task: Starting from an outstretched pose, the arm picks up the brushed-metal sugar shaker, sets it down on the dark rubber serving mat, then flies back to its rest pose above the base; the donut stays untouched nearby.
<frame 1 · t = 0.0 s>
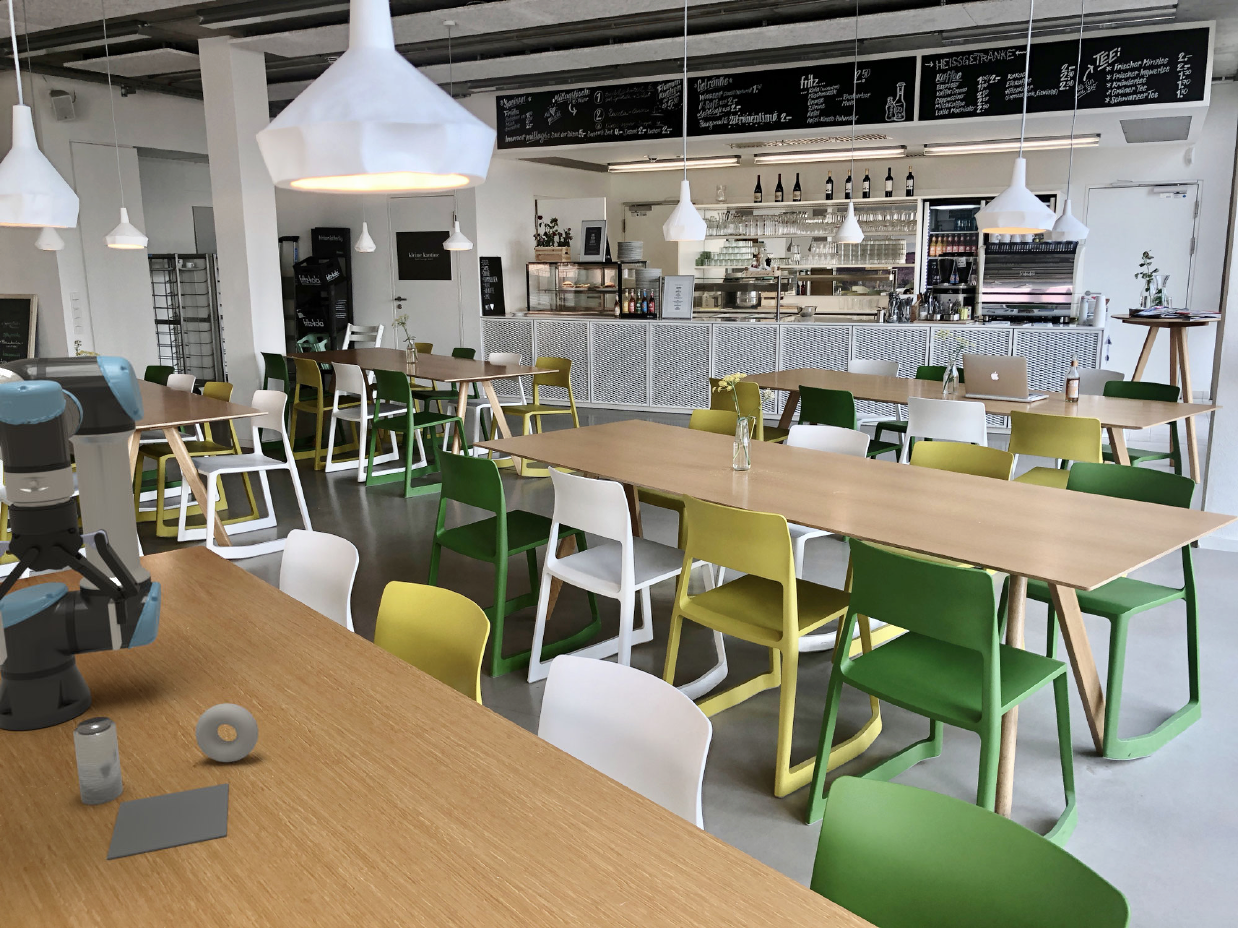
hand: (60, 654, 124), 28 cm above the table, fingers open, 13 cm apart
donut: (229, 761, 152), on the table
shaker: (102, 794, 142), on the table
mat: (172, 819, 135), on the table
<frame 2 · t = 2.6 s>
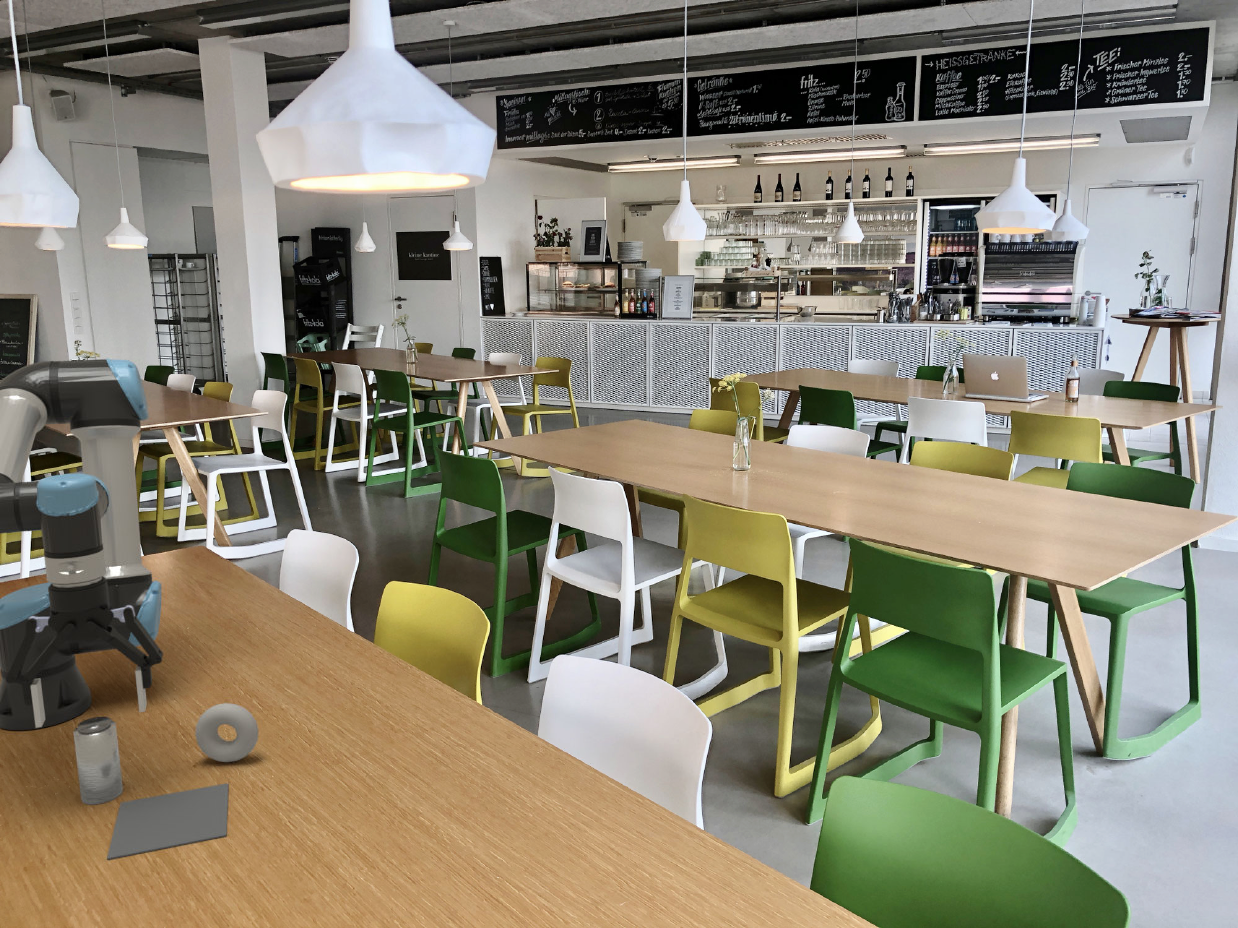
hand: (92, 715, 139), 13 cm above the table, fingers open, 13 cm apart
nothing on the table moved.
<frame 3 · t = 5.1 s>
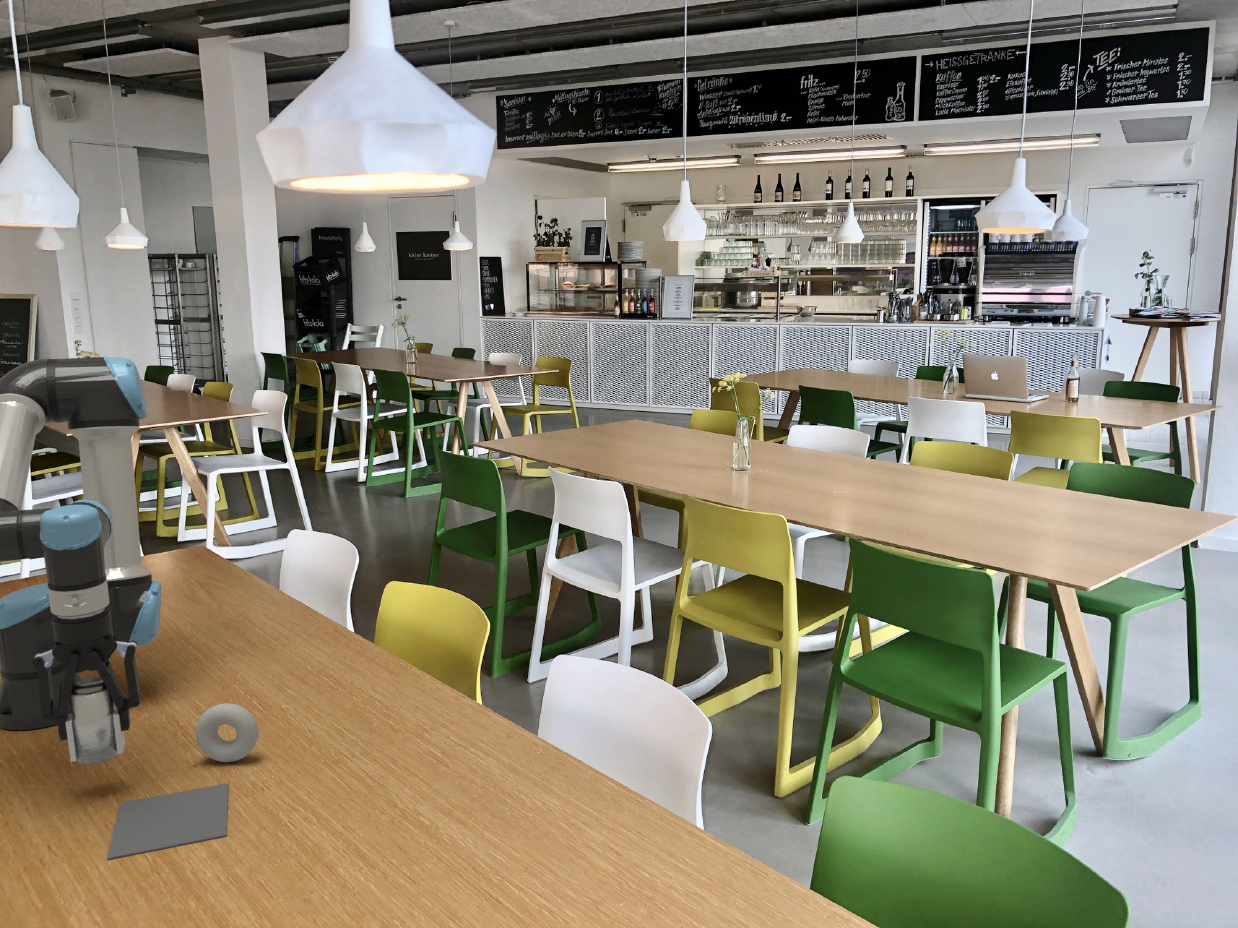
hand: (98, 752, 141), 7 cm above the table, fingers closed on shaker, 6 cm apart
shaker: (98, 754, 141), point 6 cm above the table, touching gripper
everything else where it was.
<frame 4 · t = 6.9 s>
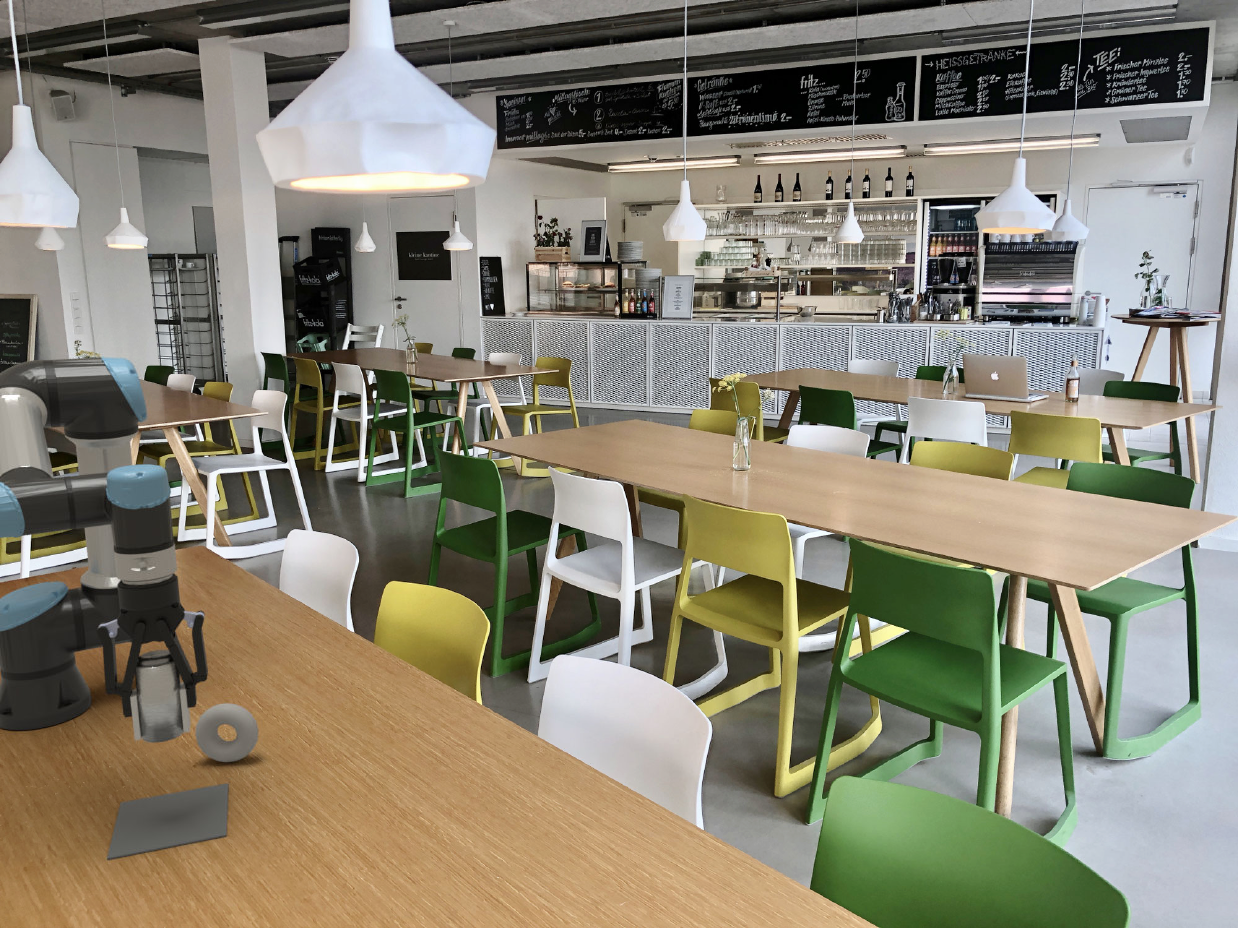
hand: (163, 731, 132), 14 cm above the table, fingers closed on shaker, 6 cm apart
shaker: (163, 733, 132), point 14 cm above the table, touching gripper
everything else where it was.
when the fingers open (2 cm above the table, at t = 9.2 s): shaker drops 1 cm, resting on mat.
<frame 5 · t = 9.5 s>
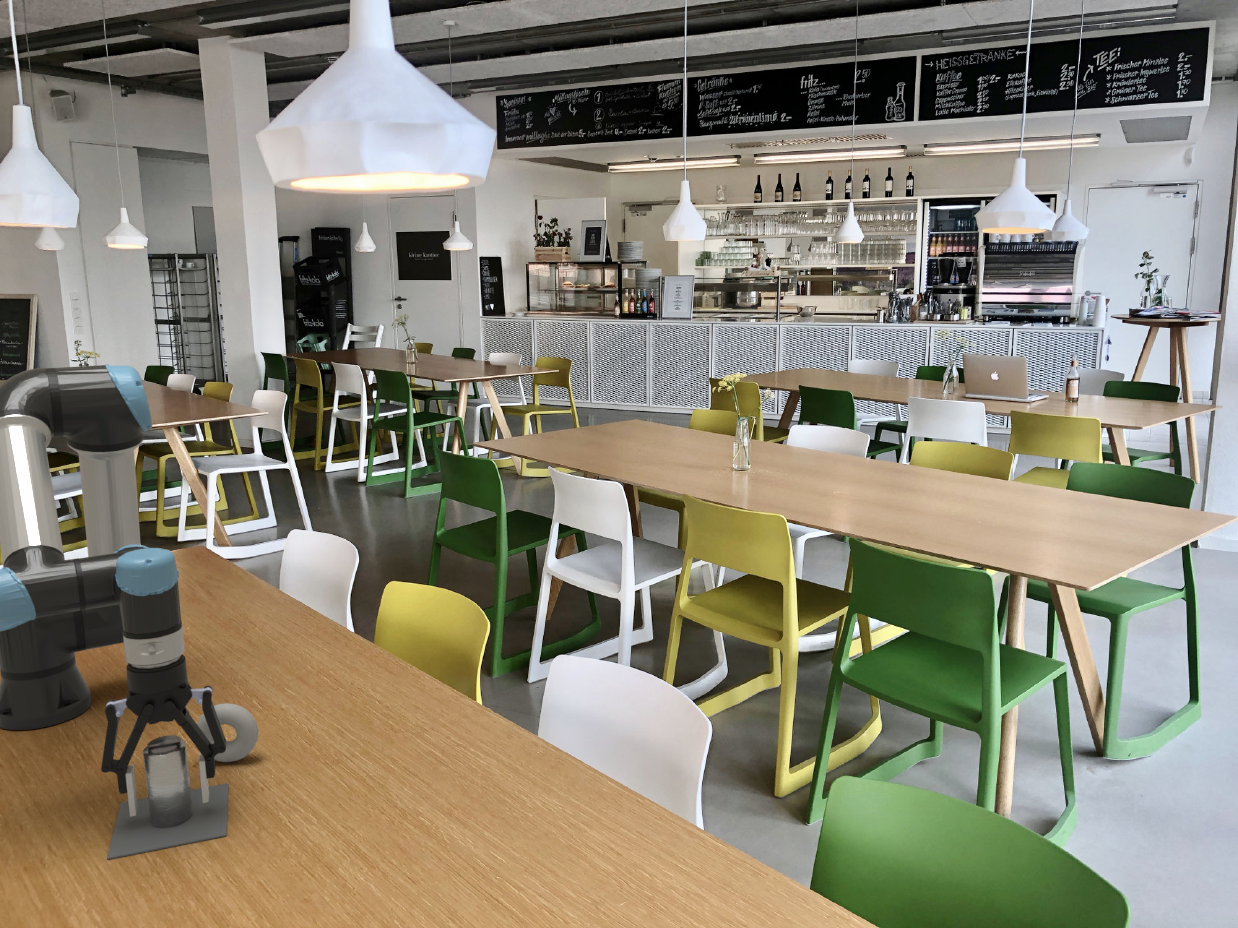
hand: (170, 804, 134), 2 cm above the table, fingers open, 9 cm apart
shaker: (171, 816, 135), resting on mat
everything else where it was.
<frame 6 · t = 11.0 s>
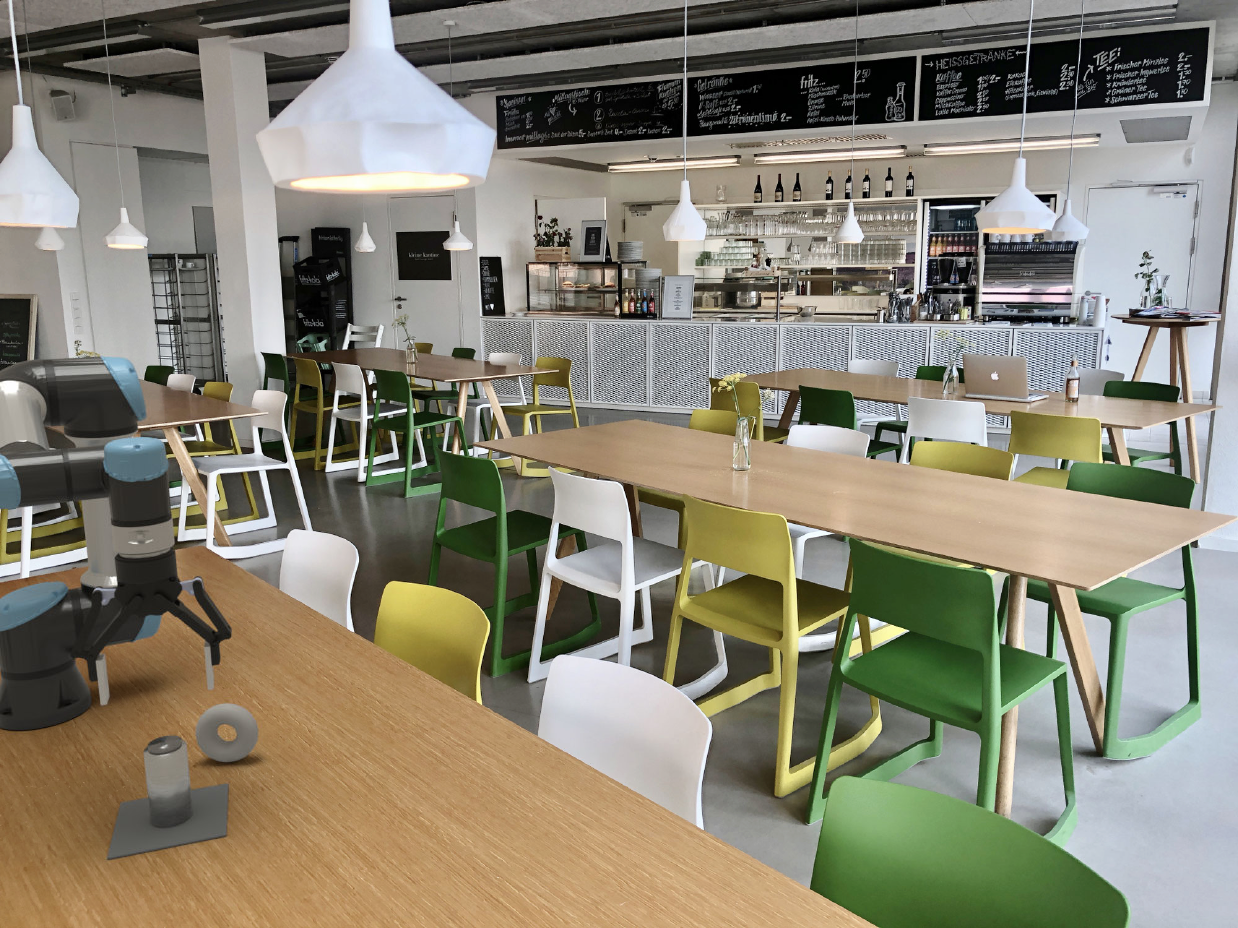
hand: (159, 693, 131), 20 cm above the table, fingers open, 13 cm apart
nothing on the table moved.
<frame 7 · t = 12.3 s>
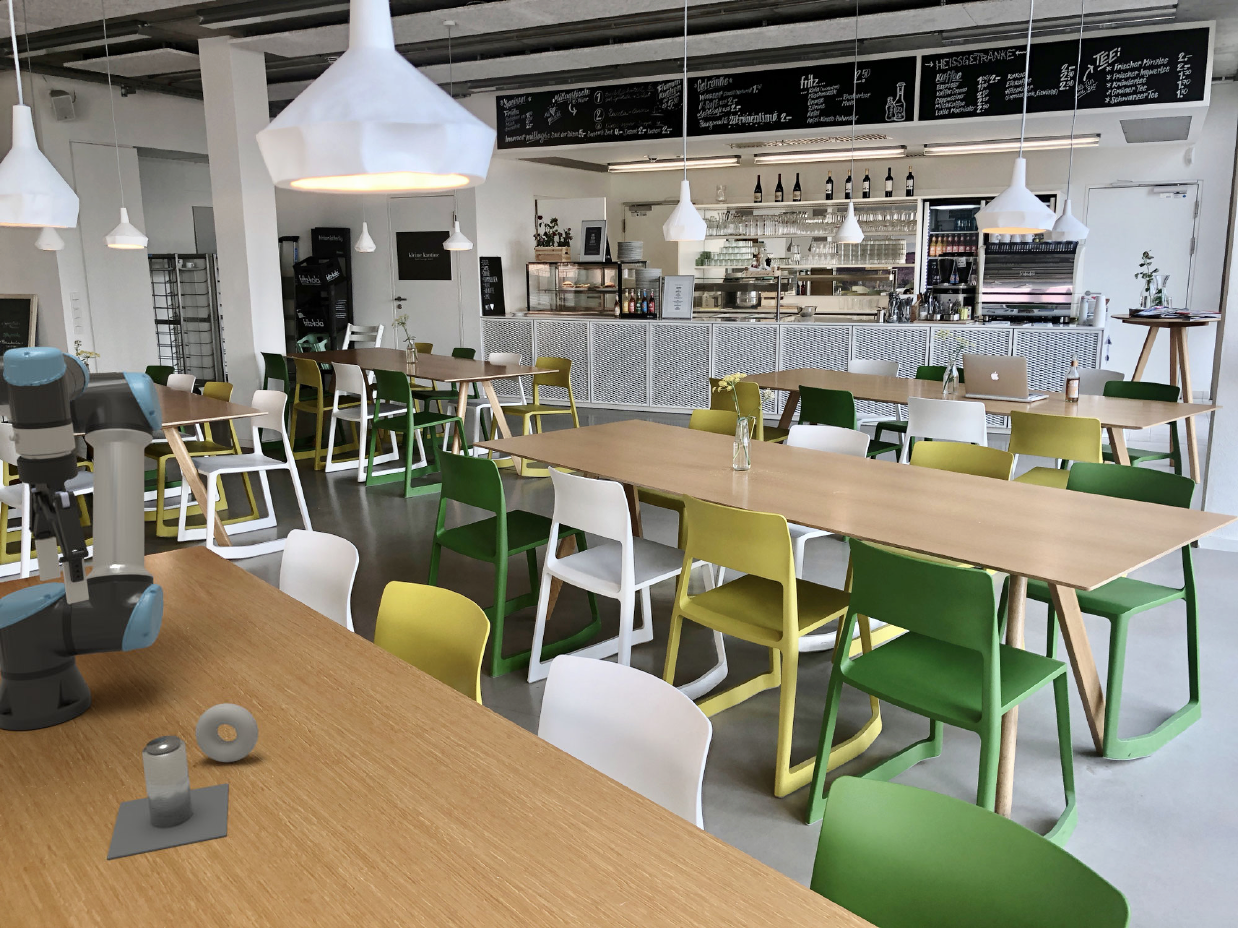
hand: (64, 589, 141), 31 cm above the table, fingers open, 13 cm apart
nothing on the table moved.
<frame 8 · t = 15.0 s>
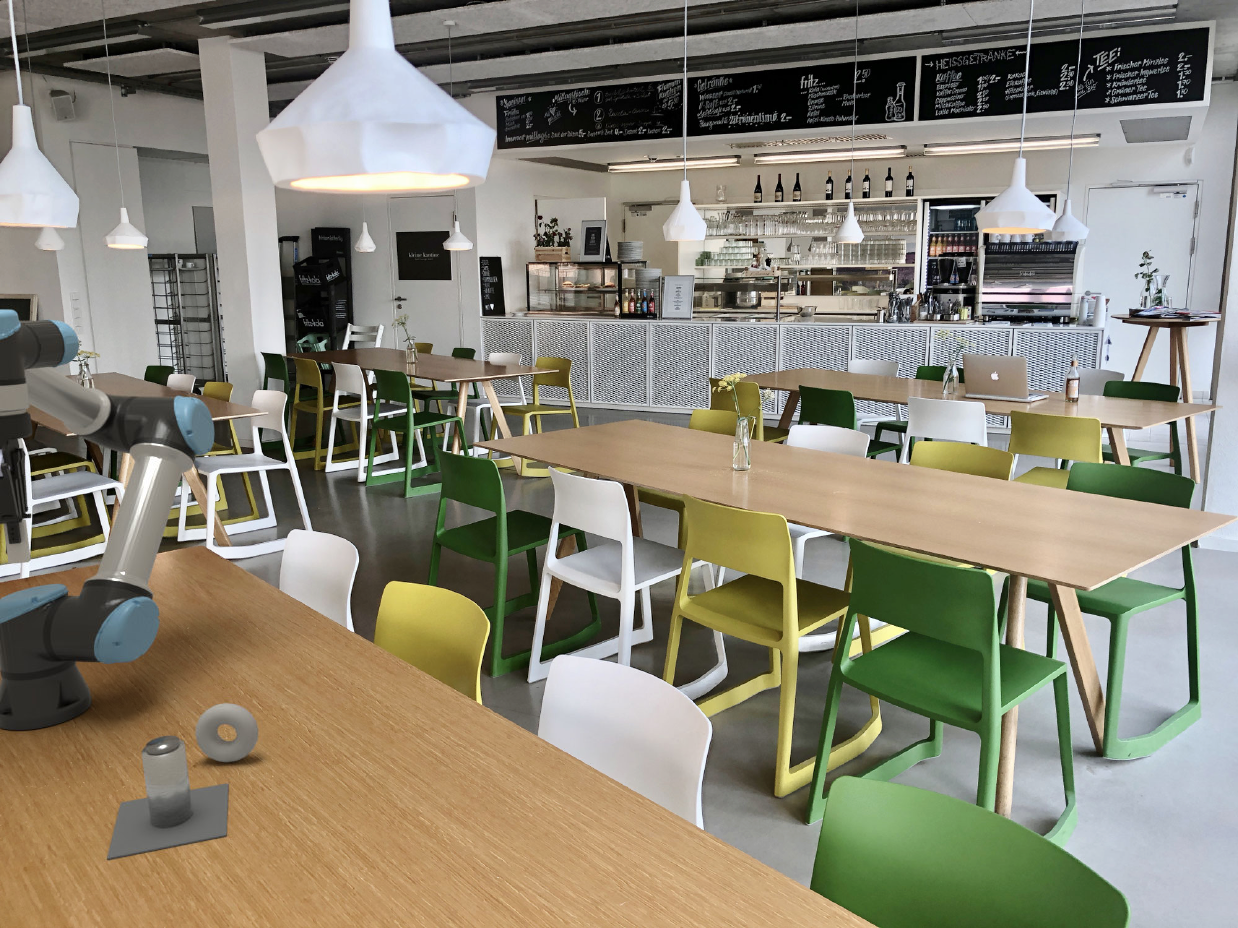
hand: (19, 561, 144), 34 cm above the table, fingers closed
nothing on the table moved.
at the end: shaker inside the target area on the mat (0.2 cm from its centre), point 0.3 cm above the mat's base; shaker tilted 1°; donut moved 0.2 cm from its start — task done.
